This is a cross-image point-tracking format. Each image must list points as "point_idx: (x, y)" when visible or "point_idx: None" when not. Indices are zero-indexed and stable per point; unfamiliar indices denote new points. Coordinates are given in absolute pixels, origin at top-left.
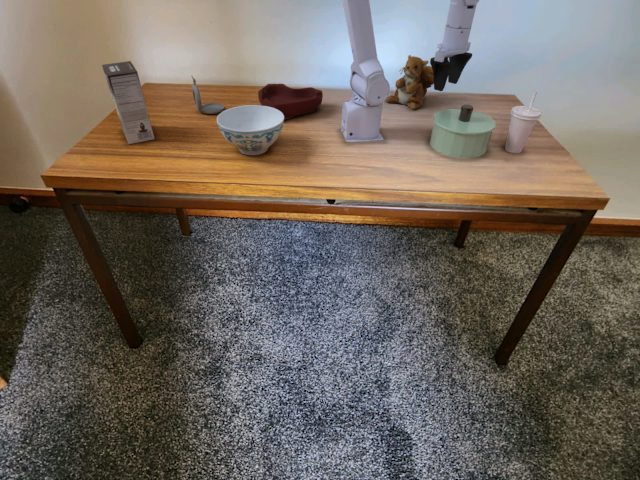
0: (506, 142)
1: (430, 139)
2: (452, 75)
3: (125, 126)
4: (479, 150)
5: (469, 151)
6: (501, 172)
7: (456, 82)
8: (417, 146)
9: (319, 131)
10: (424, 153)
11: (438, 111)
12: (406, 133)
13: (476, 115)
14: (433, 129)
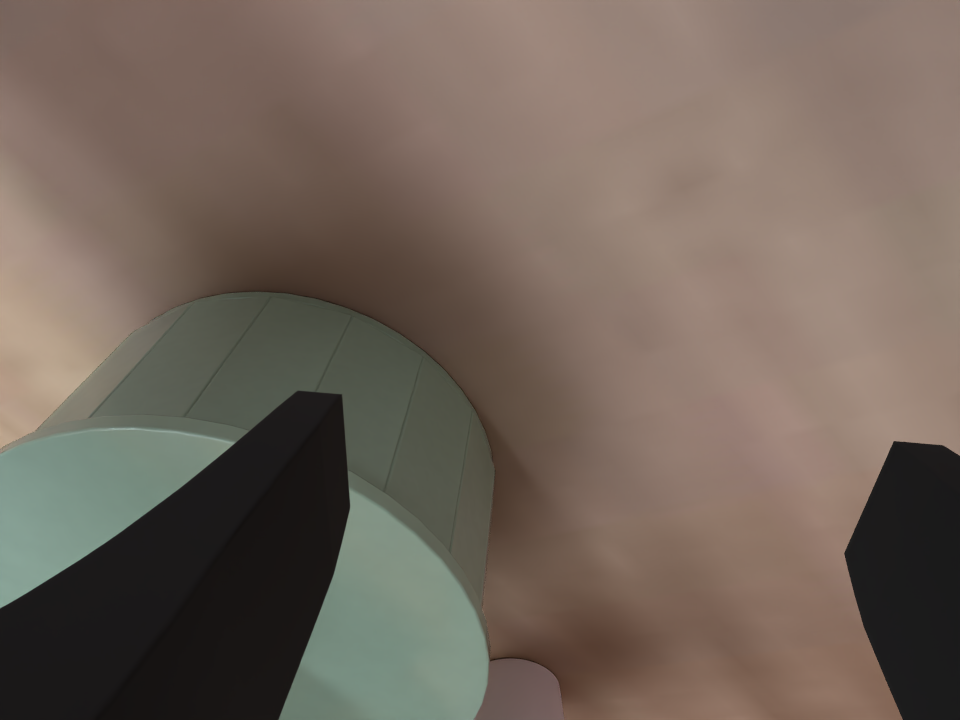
0: (484, 699)
1: (157, 325)
2: (945, 594)
3: None
4: None
5: None
6: None
7: (859, 581)
8: (58, 248)
9: None
10: (18, 337)
11: (193, 433)
12: (183, 30)
13: (394, 689)
14: (53, 413)
